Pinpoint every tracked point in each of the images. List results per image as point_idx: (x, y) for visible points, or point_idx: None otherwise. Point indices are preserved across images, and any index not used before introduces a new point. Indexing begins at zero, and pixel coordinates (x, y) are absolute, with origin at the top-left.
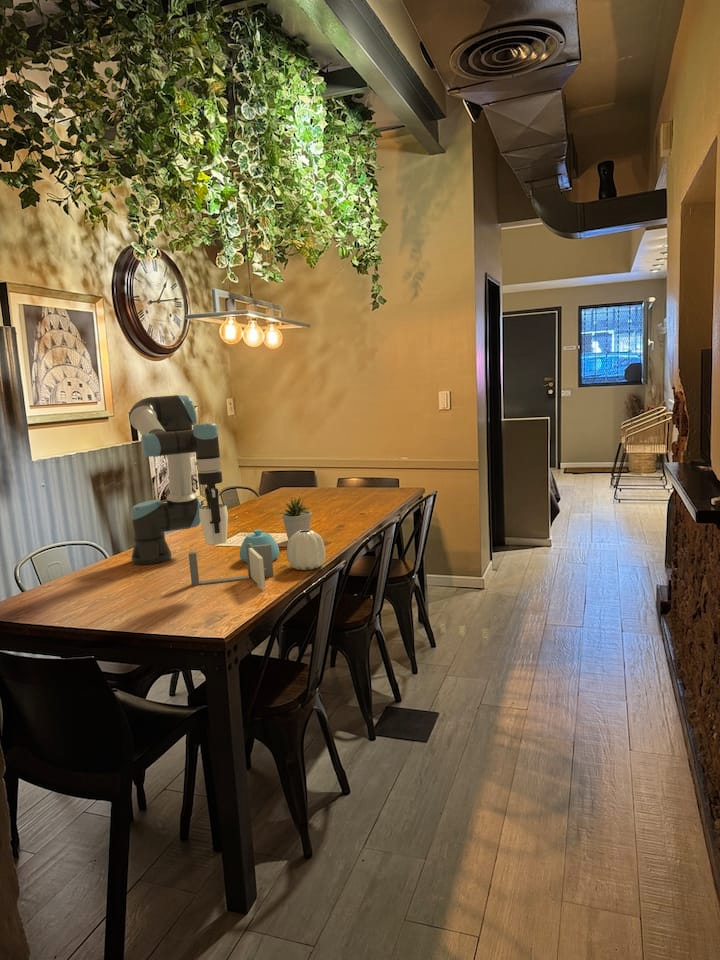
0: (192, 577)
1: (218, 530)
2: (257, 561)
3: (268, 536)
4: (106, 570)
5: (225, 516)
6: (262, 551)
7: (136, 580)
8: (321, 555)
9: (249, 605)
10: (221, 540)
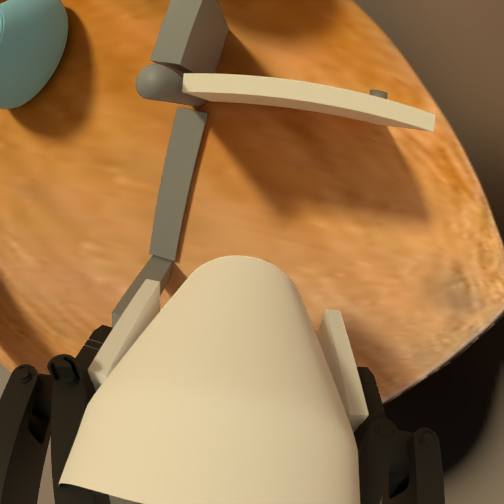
0: (163, 287)
1: (372, 385)
2: (385, 119)
3: (4, 10)
4: (13, 357)
5: (337, 414)
6: (200, 30)
7: (75, 350)
8: None
9: (450, 204)
10: (340, 321)
